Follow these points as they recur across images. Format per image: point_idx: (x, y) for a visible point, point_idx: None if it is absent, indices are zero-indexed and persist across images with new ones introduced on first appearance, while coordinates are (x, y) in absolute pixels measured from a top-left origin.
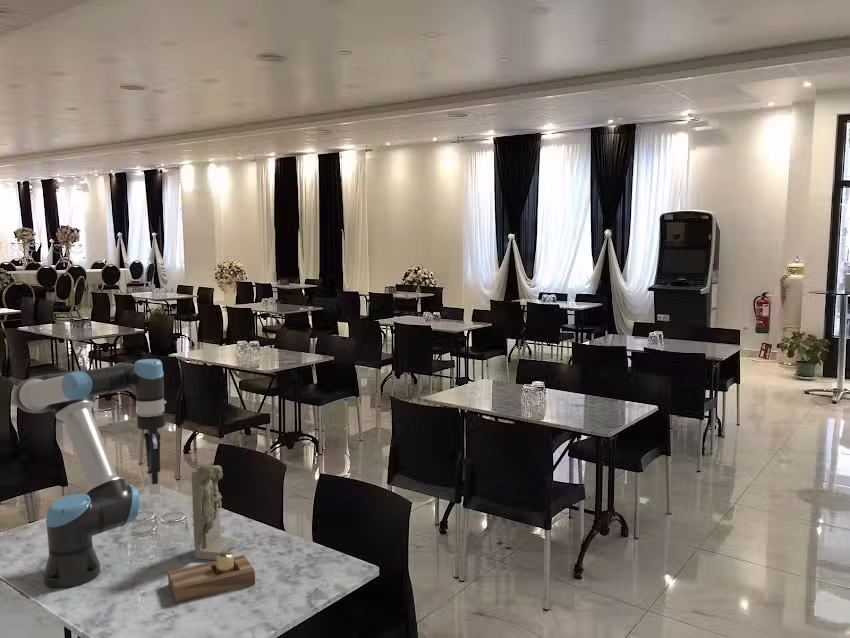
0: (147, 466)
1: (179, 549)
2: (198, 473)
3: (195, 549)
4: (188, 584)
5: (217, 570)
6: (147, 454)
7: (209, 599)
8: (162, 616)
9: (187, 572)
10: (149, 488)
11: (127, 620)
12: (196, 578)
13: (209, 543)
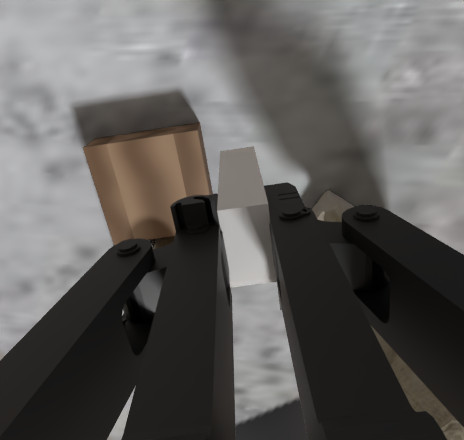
0: (358, 207)
1: (409, 153)
2: (413, 395)
3: (331, 201)
4: (101, 179)
5: (158, 246)
6: (431, 292)
7: (95, 209)
8: (33, 107)
9: (173, 179)
10: (243, 158)
11: (26, 17)
12: (130, 199)
13: None
